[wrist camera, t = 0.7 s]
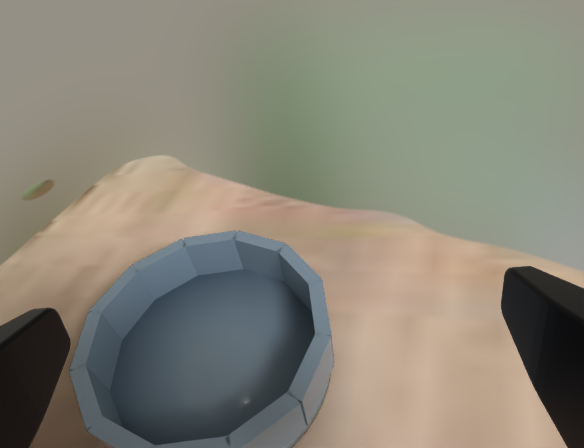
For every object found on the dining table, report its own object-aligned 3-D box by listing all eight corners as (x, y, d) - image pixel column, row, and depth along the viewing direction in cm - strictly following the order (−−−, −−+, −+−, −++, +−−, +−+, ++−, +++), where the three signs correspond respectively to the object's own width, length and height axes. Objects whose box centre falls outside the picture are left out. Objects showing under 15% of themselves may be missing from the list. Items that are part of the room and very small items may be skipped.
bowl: (264, 544, 18) (246, 525, 16) (57, 420, 24) (17, 389, 21) (363, 304, 27) (363, 264, 24) (193, 252, 32) (177, 214, 29)
